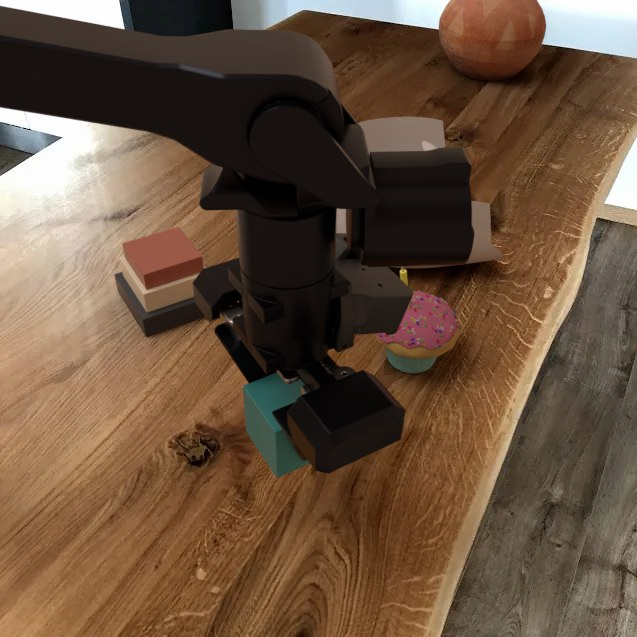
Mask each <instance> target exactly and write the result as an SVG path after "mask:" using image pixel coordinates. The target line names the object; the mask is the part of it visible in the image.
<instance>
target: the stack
mask: <svg viewBox="0 0 637 637" xmlns="http://www.w3.org/2000/svg"><path fill="white" fill-rule="evenodd" d="M121 244H122V245H121V246H122V250H123V254H124V255H123V256H119V263H120V268H121V271H120V272H117V273H114V279H115V283H116V284H115V285H116V288H117V293H118V294H119V296H120V297H121V299H122V300H123V302H124V304H125V305H126V307H127V309H128V310H129V312H130V314H131V315H132V317H133V318H134V320H135V322H136V323H137V325H138V327H139V328H140V330H141V331H142V333H143V335H144V337H146V338H147V337H151V336H153V335H156V334H159V333H162V332H164V331H167V330H170V329H173V328H176V327H178V326H181V325H185V324H187V323H190V322H194V321H195V320H199V319H201V318H204V317H205V316H204V315H203V313H202V312H201V310H200V309H199V308H198V306H197V305H196V303H195V299H194V291H193V281H194V280H195V279H196V277H197V276H198V275H199V273H200V272H201V271H202V269H204V268H207V266H206V265H205V263H204V259H203V258H204V257H203V255H202V254H201V253H200V251H199V250H198V249H197V247H196V246H195V245H194V244H193V243H192V241H191V240H190V239H189V238H188V236H187V235H186V234H185V233H184V231H183V230H182V229H181V228H180V226H176V227H172V228H169V229H166V230H161V231H159V232H156V233H155V232H154V233H151V234H148V235H146V236H142V237H140V238H135V239H132V240H129V241H125V242H122V243H121ZM205 318H206V317H205Z"/></svg>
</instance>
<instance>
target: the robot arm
mask: <svg viewBox="0 0 637 637" xmlns="http://www.w3.org/2000/svg"><path fill="white" fill-rule="evenodd" d="M0 108H1V109H7V110H12V111H18V112H24V113H25V112H26V113H31V114H38V115H43V116H47V117H48V116H49V117H54V118H55V117H56V118H61V119H68V120H74V121H79V122H80V121H81V122H85V123H91V124H98V125H103V126H109V127H115V128H122V129H128V130H134V131H140V132H146V133H150V134H154V135H157V136H160V137H163V138H165V139H168V140H172V141H174V142H176V143H178V144H179V145H181V146H182V147H184V148H186V149H187V150H188V151H190V152H192V153H193V154H195V155H196V156H198V157H200V158H201V159H203V160H205V161H206V162H207V163H210V165H209V166H208V167H206V168H205V169H204V170H203V171H202V175H201V176H202V177H201V183H200V192H199V201H198V204H199V206H200V208H201V209H202V210H204V211H235V216H236V217H235V219H236V232H237V245H238V246H237V247H238V257H236V258H232V259H230V260H225V261H224V262H219V263H217V264H214V265H211V266H206V268H204V269H202V271H201V272H200V273H199V275H198V276H197V277H196V279H195V280H194V281H193V291H194V299H195V303H196V305H197V306H198V308H199V309H200V310H201V312H202V313H203V315H204V316H205V319H206V320H207V322H208V323H212V322H214V321H216V320H219V319H220V318H221V316H222V317H223V322H222V323H219V324H218V325H216V326H215V327H214V330H213V332H214V334H215V336H216V337H217V339H218V340H219V342H220V343H221V345H222V347H223V348H224V349H225V350H226V352H227V355H229V357H230V358H231V360H232V361H233V363H234V364H235V366H236V367H237V368H238V370H239V372H240V373H241V375H242V376H243V377H244V379H245V380H246V382H247V384H249V383H251V382H254V381H256V380H259V379H261V378H264V377H266V376H269V375H271V374H274V373H278V374H279V375H280V377H281V378H282V379H283V381H284V382H285V383H286V384H291V383H294V382H296V381H298V380H299V379H300V380H301V381H302V382H303V384H304V386H301V396H300V397H299V398H297V399H296V402H294V403H292V404H289V405H287V406H284V407H282V408H280V409H277V410H275V411H272V414H273V416H274V418H275V419H276V421H277V422H278V424H279V426H280V427H281V428H282V430H283V432H284V433H285V435H286V436H287V438H288V439H289V441H290V443H291V444H292V446H293V447H294V449H295V450H296V452H297V453H298V455H299V457H300V458H301V459H302V461H306V460H308V461H309V463H310V464H309V465H310V466H311V467H312V468H313V470H314V471H315V472H319V473H323V474H327V475H329V474H331V473H333V472H336V471H337V470H340V469H342V468H344V467H346V466H348V465H350V464H352V463H355V462H357V461H359V460H361V459H363V458H365V457H367V456H369V455H372V454H374V453H376V452H378V451H380V450H382V449H384V448H386V447H388V446H390V445H393V444H395V443H397V442H399V441H401V440H402V436H403V432H404V431H403V430H404V425H405V418H406V408H405V407H404V406H403V404H401V403H400V402H399V401H398V399H397V398H396V397H395V396H394V395H393V394H392V393H391V392H390V390H388V388H387V387H386V386H385V385H384V384H383V382H381V381H380V380H379V378H378V377H377V376H376V375H375V374H373V373H371V372H369V371H367V370H364V369H362V370H359V371H355V369H353V367H350V366H347V365H339V364H337V363H336V362H335V360H334V359H333V358H332V357H331V356H330V355H329V351H330V350H334V351H335V352H336V353H340V352H343V351H345V350H348V349H350V348H351V349H352V348H353V347H354V345H355V344H354V343H355V335H360V336H361V335H372V334H374V335H375V333H385V334H386V335H392V334H395V333H397V331H398V328H399V326H400V324H401V322H402V319H403V317H404V315H405V313H406V310H407V308H408V306H409V303H410V301H411V299H412V297H413V291H414V290H413V289H412V288H411V287H410V286H409V285H408V286H407V285H406V284H405V283H404V282H403V281H402V280H401V279H400V276H398V275H397V274H396V273H395V272H393V271H392V270H391V269H390V268H395V267H400V266H440V265H452V266H463V265H467V264H466V263H467V261H468V260H469V257H470V255H471V251H472V247H473V242H474V229H473V226H472V201H473V200H472V193H471V192H472V190H471V185H470V181H471V173H472V169H473V165H472V163H471V162H470V159H469V157H468V154H467V152H466V150H465V148H464V147H462V146H445V147H442V148H437V149H433V150H428V151H384V152H370V156H369V152H368V148H367V143H366V139H365V135H364V131H363V129H362V128H361V126H360V125H359V124H358V123H359V122H358V121H357V120H356V118H355V117H354V116H353V115H352V113H351V112H350V110H349V109H348V108H347V106H346V105H345V104H344V103H343V101H342V100H341V97H340V92H339V87H338V81H337V76H336V73H335V70H334V65H333V63H332V61H331V59H330V58H329V56H328V55H327V53H326V52H325V50H324V48H322V47H321V45H320V43H318V42H317V41H316V40H314V39H313V38H311V37H310V36H308V35H306V34H302V33H300V32H297V31H293V30H285V29H235V28H234V29H232V28H231V29H229V28H228V29H223V30H216V31H212V32H205V33H200V34H194V35H187V36H176V35H175V36H173V35H172V36H171V35H157V34H152V33H147V32H142V31H137V30H132V29H131V30H130V29H126V28H120V27H115V26H110V25H106V24H105V25H103V24H99V23H93V22H90V21H83V20H78V19H72V18H68V17H61V16H57V15H51V14H46V13H40V12H36V11H30V10H25V9H21V8H14V7H9V6H4V5H0ZM337 209H346V233H336V219H337Z"/></svg>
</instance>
